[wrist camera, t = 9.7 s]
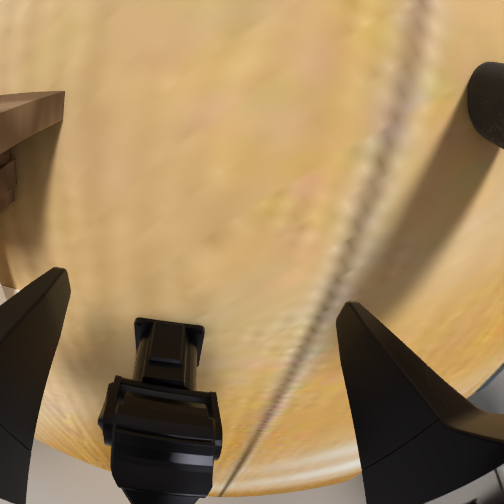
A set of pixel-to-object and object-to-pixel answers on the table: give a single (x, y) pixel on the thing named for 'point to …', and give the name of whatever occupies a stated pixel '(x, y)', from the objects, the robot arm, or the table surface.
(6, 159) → the brown wooden block
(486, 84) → the travel mug
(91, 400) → the table surface
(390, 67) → the table surface
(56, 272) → the robot arm
